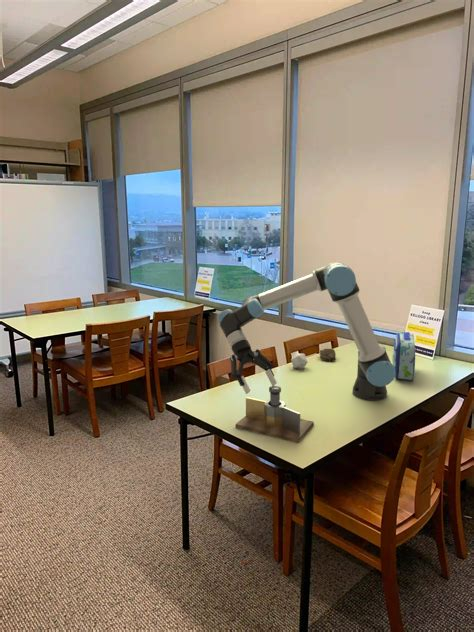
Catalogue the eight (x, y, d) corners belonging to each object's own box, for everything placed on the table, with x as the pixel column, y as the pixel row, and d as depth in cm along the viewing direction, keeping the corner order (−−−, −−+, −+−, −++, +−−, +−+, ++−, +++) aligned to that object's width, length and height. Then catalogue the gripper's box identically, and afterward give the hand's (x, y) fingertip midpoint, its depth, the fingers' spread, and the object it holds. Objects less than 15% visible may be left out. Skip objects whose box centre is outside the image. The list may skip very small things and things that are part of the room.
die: (298, 372, 235) (309, 358, 234) (286, 362, 238) (296, 348, 237) (301, 373, 243) (312, 359, 242) (289, 363, 246) (299, 349, 245)
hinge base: (313, 425, 174) (313, 421, 173) (298, 442, 160) (298, 439, 160) (254, 412, 186) (254, 408, 186) (235, 427, 172) (235, 423, 172)
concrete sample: (320, 355, 263) (321, 347, 262) (338, 357, 259) (338, 348, 258) (316, 360, 252) (316, 352, 251) (334, 363, 249) (334, 354, 248)
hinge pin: (282, 421, 173) (283, 387, 170) (277, 426, 170) (278, 391, 166) (271, 419, 176) (272, 385, 173) (267, 423, 172) (267, 389, 169)
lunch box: (391, 365, 243) (394, 328, 239) (412, 367, 240) (415, 329, 235) (391, 381, 219) (394, 340, 215) (415, 384, 216) (418, 342, 211)
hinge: (307, 425, 170) (307, 405, 168) (299, 434, 163) (299, 414, 161) (250, 412, 182) (250, 394, 180) (240, 420, 174) (240, 401, 173)
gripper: (258, 343, 194) (280, 385, 186) (210, 353, 180) (232, 400, 171) (266, 334, 189) (289, 377, 181) (217, 343, 175) (240, 391, 166)
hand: (261, 388), depth 176 cm, fingers open, 13 cm apart
